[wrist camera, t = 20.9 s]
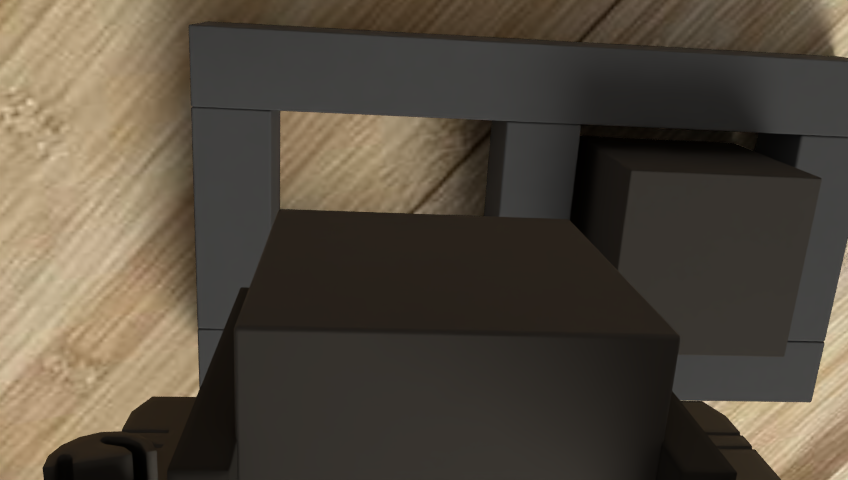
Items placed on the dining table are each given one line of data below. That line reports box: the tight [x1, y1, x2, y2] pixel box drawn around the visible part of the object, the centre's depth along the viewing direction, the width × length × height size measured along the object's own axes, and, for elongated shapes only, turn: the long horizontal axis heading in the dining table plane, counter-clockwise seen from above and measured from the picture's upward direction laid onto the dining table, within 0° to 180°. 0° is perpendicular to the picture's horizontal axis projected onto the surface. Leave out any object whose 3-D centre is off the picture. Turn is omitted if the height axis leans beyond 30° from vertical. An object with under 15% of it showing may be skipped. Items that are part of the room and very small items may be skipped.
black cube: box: [234, 209, 680, 480], centre depth 14 cm, size 6×6×6 cm
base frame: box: [189, 22, 848, 402], centre depth 28 cm, size 13×23×3 cm, turn 87°
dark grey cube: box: [570, 136, 822, 357], centre depth 27 cm, size 6×6×6 cm
